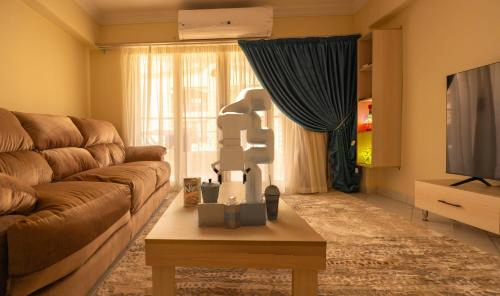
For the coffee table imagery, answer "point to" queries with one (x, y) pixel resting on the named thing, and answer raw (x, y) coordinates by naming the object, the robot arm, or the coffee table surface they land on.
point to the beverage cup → (272, 201)
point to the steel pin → (232, 200)
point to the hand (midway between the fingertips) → (232, 183)
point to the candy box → (192, 191)
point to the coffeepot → (210, 192)
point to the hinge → (231, 215)
